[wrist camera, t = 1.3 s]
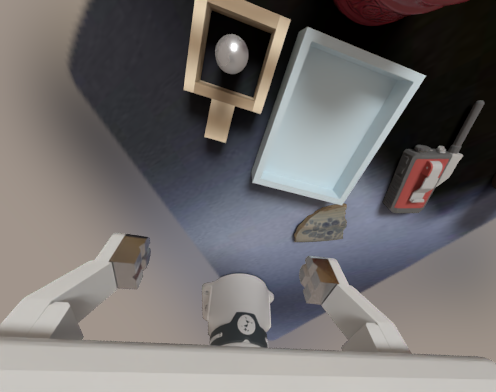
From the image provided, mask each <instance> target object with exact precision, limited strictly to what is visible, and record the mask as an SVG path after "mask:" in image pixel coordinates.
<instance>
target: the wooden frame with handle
mask: <svg viewBox="0 0 496 392" xmlns="http://www.w3.org/2000/svg"><path fill="white" fill-rule="evenodd" d="M211 11H215V12H218V13H220V14H223V15H225V16H228V17H230V18H233V19H235V20H238V21H240V22H243V23H245V24H248V25H251V26H253V27H256V28H258V29H261V30H263V31H266V32H268V33H271V38H270V41H269V45H268V48H267V52H266V55H265V59H264V62H263V66H262V69H261V73H260V76H259V79H258V83H257V86H256V90H255V93H254V97H250V96H247V95H244V94H241V93H238V92H235V91H231V90H228V89H225V88H222V87H219V86H216V85H213V84H210V83H207V82H204V81H201V80H200V79H201V73H202V67H203V61H204V54H205V48H206V42H207V36H208V30H209V23H210V17H211ZM290 21H291V20H290V19H288V18H285V17H283V16H280V15H278V14H276V13H273V12H271V11H268V10H266V9H264V8H261V7H259V6H256V5H254V4H252V3H249V2H247V1H244V0H195V3H194V11H193V19H192V27H191V35H190V43H189V51H188V58H187V66H186V74H185V82H184V90H186V91H189V92H192V93H195V94H199V95H202V96H205V97H208V98H211V99H212V100H211V105H210V110H209V116H208V121H207V126H206V131H205V136H204V137H207V138H210V139H214V140H217V141H221V142H224V143H226V140H227V136H228V132H229V128H230V124H231V120H232V116H233V112H234V108H235V106H236V107H240V108H243V109H246V110H249V111H252V112H255V113H258V114H261V112H262V109H263V106H264V103H265V99H266V96H267V93H268V90H269V87H270V84H271V81H272V77H273V74H274V71H275V68H276V65H277V62H278V58H279V55H280V52H281V49H282V46H283V43H284V40H285V36H286V33H287V30H288V27H289V24H290Z"/></svg>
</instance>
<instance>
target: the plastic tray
mask: <svg viewBox="0 0 496 392" xmlns="http://www.w3.org/2000/svg"><path fill="white" fill-rule="evenodd" d="M425 77H426V76H425V75H423V74H421V73H418V72H416V71H413V70H411V69H408V68H406V67H404V66H401V65H399V64H396V63H394V62H392V61H389V60H387V59H384V58H382V57H379V56H377V55H375V54H372V53H370V52H367V51H365V50H363V49H360V48H358V47H355V46H353V45H351V44H348V43H346V42H343V41H341V40H338V39H336V38H334V37H331V36H329V35H326V34H324V33H322V32H319V31H317V30H314V29H312V28H309V27H306V28H305V29H303V30H301V31H299V33H298V36H297V39H296V42H295V45H294V48H293V51H292V54H291V57H290V59H289V62H288V65H287V68H286V71H285V74H284V77H283V80H282V83H281V86H280V89H279V92H278V95H277V98H276V101H275V104H274V106H273V109H272V112H271V115H270V118H269V121H268V124H267V127H266V130H265V133H264V136H263V139H262V142H261V145H260V148H259V150H258V153H257V156H256V159H255V162H254V165H253V168H252V171H251V174H252V183H255V184H259V185H263V186H267V187H271V188H275V189H279V190H283V191H287V192H291V193H295V194H299V195H303V196H307V197H311V198H315V199H319V200H322V201H326V202H330V203H334V204H338V205H343V203H344V202H345V200H346V198H347V197H348V195H349V194H350V192H351V191H352V189H353V188H354V186H355V185H356V183H357V182H358V180H359V178H360V177H361V175H362V174H363V172H364V171H365V169H366V168H367V166H368V165H369V163H370V161H371V160H372V158H373V157H374V155H375V154H376V152H377V151H378V149H379V148H380V146H381V144H382V143H383V141H384V140H385V138H386V137H387V135H388V134H389V132H390V131H391V129H392V128H393V126H394V124H395V123H396V121H397V120H398V118H399V117H400V115H401V114H402V112H403V111H404V109H405V107H406V106H407V104H408V103H409V101H410V100H411V98H412V97H413V95H414V94H415V92H416V90H417V89H418V87H419V86H420V84H421V83H422V81H423V80H424V78H425Z"/></svg>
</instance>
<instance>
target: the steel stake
mask: <svg viewBox="0 0 496 392" xmlns="http://www.w3.org/2000/svg"><path fill="white" fill-rule="evenodd" d="M215 58H216V61H217V64H218V66H219V67H220V68H221V69H222V70H223V71H224V72H226V73H228V74H236V73H239V72H240V71H242V70H243V69H244V68H245V66H246V64H247V61H248V49H247V46H246V44H245V42H244V41H243V39H242V38H240V37H239V36H237V35H234V34H228V35H225V36H223V37H222V38H221V39H220V40H219V41H218V43H217V45H216V49H215Z"/></svg>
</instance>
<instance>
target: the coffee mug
mask: <svg viewBox="0 0 496 392" xmlns="http://www.w3.org/2000/svg"><path fill="white" fill-rule="evenodd" d="M492 186H493V187H494V188H495V189H496V173H495V175H494V176H493V178H492Z"/></svg>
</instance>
